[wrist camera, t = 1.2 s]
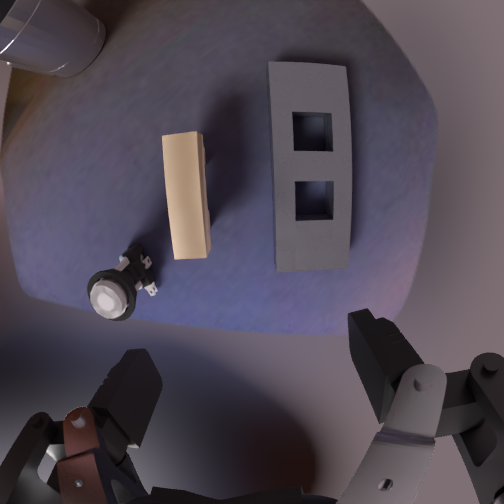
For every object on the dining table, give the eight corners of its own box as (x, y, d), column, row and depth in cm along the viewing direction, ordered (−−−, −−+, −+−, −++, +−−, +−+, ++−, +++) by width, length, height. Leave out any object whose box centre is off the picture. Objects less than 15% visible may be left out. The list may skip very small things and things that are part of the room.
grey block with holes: (274, 262, 32) (276, 272, 29) (266, 70, 25) (268, 61, 22) (339, 258, 32) (347, 268, 29) (337, 73, 24) (345, 66, 22)
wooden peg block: (189, 237, 31) (174, 259, 24) (181, 140, 27) (162, 136, 20) (215, 235, 31) (206, 257, 24) (208, 137, 27) (196, 131, 20)
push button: (173, 283, 33) (148, 329, 23) (140, 296, 33) (110, 342, 24) (147, 235, 31) (110, 268, 21) (115, 252, 31) (73, 287, 22)
